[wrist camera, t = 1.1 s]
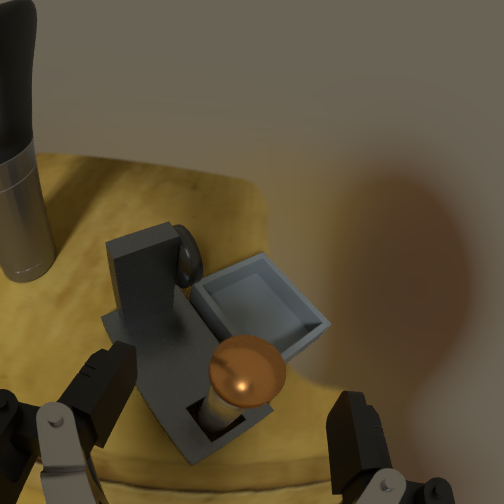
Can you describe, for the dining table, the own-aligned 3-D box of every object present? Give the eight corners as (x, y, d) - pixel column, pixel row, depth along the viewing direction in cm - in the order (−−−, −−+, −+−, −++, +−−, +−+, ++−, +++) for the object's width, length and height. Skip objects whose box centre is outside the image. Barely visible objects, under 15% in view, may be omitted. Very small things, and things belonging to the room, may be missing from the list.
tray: (189, 300, 35) (192, 282, 33) (256, 269, 42) (263, 252, 39) (254, 385, 30) (264, 374, 27) (318, 338, 36) (331, 324, 34)
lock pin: (183, 411, 26) (195, 356, 15) (217, 391, 28) (254, 323, 18) (208, 445, 24) (243, 419, 13) (243, 423, 26) (300, 376, 16)
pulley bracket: (98, 315, 30) (77, 234, 21) (172, 284, 36) (180, 202, 27) (190, 465, 22) (205, 461, 13) (269, 413, 28) (325, 370, 19)
